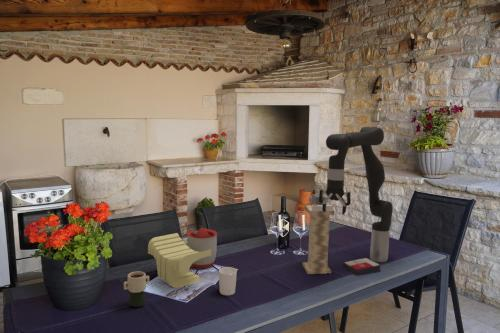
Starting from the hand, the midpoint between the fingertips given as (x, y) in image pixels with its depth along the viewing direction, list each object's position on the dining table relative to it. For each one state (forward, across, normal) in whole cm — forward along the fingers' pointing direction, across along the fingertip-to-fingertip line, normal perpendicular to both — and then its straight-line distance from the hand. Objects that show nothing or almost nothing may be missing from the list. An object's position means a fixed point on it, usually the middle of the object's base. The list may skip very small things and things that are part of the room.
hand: (333, 212), depth 189 cm
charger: (+2, +12, -18) cm, 22 cm away
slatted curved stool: (+34, +66, +29) cm, 79 cm away
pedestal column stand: (+34, +10, -13) cm, 37 cm away
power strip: (+2, +7, -9) cm, 12 cm away
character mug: (+34, +68, +56) cm, 95 cm away
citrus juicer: (+34, +66, +6) cm, 74 cm away
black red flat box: (+34, -12, -23) cm, 43 cm away
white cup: (+34, +40, +30) cm, 60 cm away
